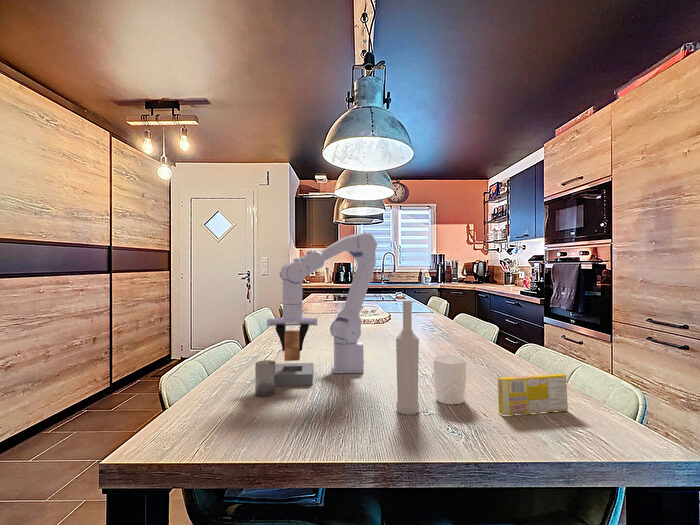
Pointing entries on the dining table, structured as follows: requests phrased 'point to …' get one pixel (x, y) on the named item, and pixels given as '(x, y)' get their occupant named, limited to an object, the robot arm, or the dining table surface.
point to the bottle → (407, 365)
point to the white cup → (450, 379)
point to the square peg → (292, 345)
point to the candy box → (532, 394)
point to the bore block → (294, 374)
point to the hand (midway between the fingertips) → (292, 350)
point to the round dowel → (265, 378)
